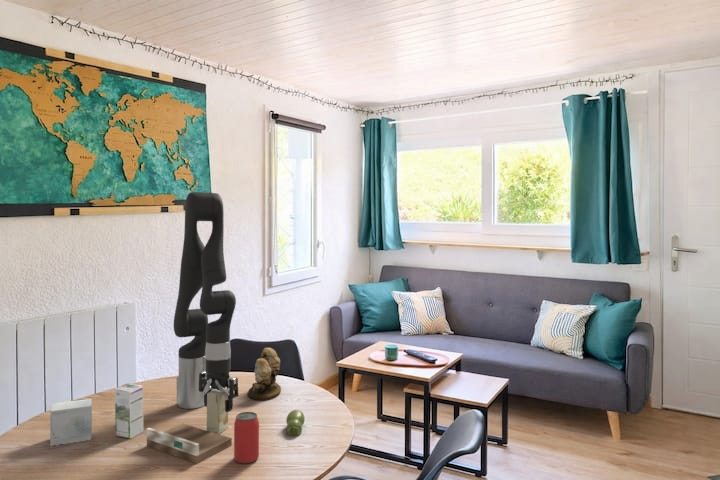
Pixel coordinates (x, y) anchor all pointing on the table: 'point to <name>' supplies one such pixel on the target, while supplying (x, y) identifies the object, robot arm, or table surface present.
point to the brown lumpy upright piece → (266, 376)
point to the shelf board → (187, 442)
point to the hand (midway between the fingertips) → (218, 408)
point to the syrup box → (129, 410)
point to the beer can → (246, 437)
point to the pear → (295, 422)
